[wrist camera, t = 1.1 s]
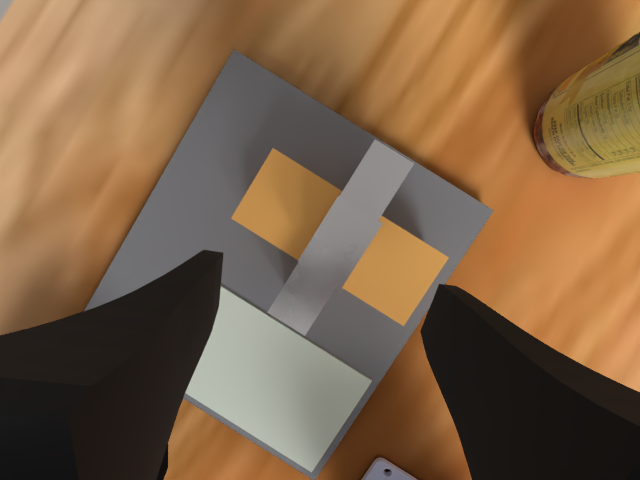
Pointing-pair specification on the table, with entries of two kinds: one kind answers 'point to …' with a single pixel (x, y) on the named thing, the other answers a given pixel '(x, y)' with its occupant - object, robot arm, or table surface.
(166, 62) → the table surface
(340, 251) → the clasp
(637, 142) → the sauce bottle
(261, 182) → the block
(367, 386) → the board
